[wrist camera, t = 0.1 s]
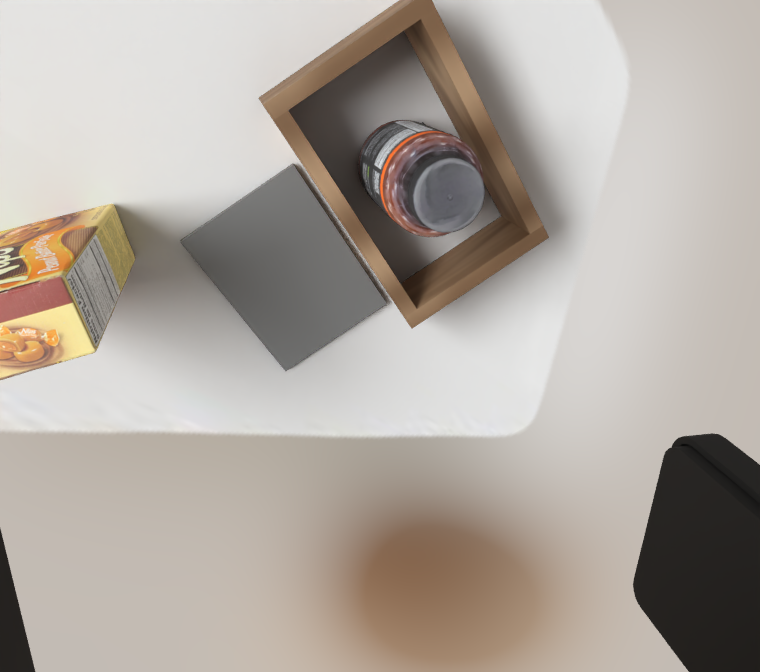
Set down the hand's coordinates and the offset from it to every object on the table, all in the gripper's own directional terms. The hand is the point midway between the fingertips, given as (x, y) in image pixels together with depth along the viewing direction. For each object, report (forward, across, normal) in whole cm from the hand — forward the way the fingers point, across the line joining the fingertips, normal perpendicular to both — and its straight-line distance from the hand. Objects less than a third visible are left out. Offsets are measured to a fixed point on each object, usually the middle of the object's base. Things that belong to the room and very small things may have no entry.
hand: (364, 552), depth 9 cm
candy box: (+37, +12, +6) cm, 40 cm away
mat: (+37, -2, +8) cm, 38 cm away
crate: (+37, -10, 0) cm, 38 cm away
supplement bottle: (+37, -10, 0) cm, 39 cm away
